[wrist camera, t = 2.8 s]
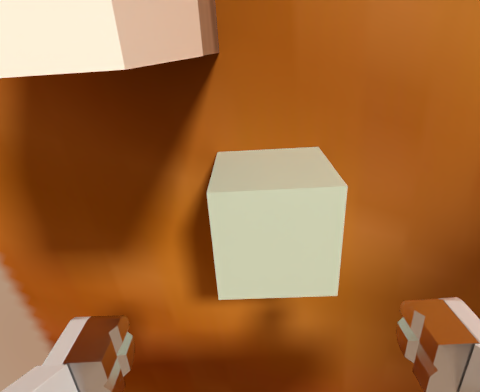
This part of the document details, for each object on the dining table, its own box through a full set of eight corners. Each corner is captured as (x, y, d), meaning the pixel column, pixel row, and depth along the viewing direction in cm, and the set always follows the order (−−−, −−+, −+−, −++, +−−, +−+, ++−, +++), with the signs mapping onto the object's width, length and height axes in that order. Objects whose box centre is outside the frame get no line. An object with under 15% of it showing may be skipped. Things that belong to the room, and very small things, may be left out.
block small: (318, 146, 16) (347, 186, 11) (313, 232, 18) (337, 295, 13) (217, 151, 16) (206, 192, 11) (225, 236, 18) (218, 299, 13)
